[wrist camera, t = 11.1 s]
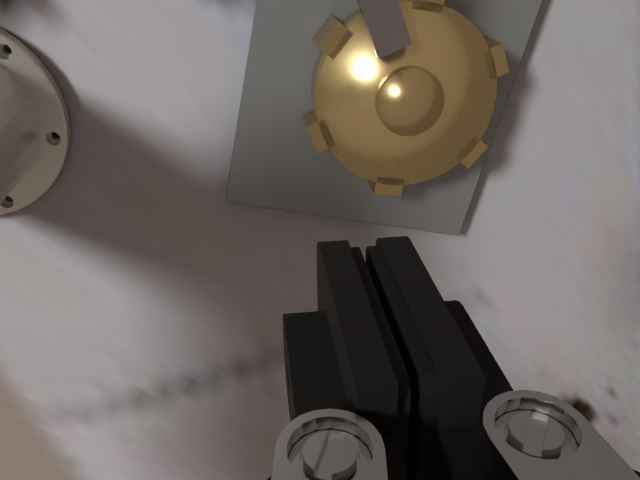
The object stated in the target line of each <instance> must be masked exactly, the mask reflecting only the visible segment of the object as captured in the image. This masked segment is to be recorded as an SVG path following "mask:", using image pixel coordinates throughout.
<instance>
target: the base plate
mask: <svg viewBox="0 0 640 480" xmlns="http://www.w3.org/2000/svg"><path fill="white" fill-rule="evenodd" d="M541 2H542V0H445V2H444V6H446V7H449V8H451V9H453V10H455V11H457V12H458V13H460V14H462V15H463V16H464V17H466V18H467V19H468V20H469V21H471V22H472V23H473V24H474V25H475V27H476V28H477V29H478V30H479V31H480V32H481V34H482V35H483V37H486V36H487V37H489V38H492V39H494V40H496V41H498V42H501V43H503V47H504V51H505V55H506V60H507V64H508V69H509V73H507V74H504V75H502V76H499V77H497V95H496V101H495V106H494V110H493V113H492V116H491V119H490V122H489V124H488V126H487V128H486V130H485V132H484V134H483V135H482V137H481V139H480V140H481V141H482V142H483V143H485V144H486V145H487V146H488V148H487V149H486V150H485V151H484V152H483V153H482V154H481V155H480V156H479V157H478V159H477V160H476V161H475V162H474V163H473V164H472V165H471V166H470V167H469V169H468V168H467V167H466V166H465V165H464V164H462V163H461V162H459V163H458V164H457V165H455V166H454V167H453V168H451V169H450V170H448V171H446V172H445V173H443V174H441V175H439V176H437V177H435V178H433V179H430V180H427V181H424V182H420V183H416V184H410V185H403V189H402V193H401V196H391V195H380V194H374V193H373V191H372V189H371V187H370V185H369V183H368V182H367V180H366V179H364V178H362V177H360V176H358V175H356V174H355V173H353V172H352V171H350V170H349V169H347V168H346V167H345V166H344V165H343V164H341V163H340V161H339V160H338V159H337V158H336V157H335V156H334V155H333V153H332V152H331V150H330V149H326V150H324V151H322V152H319V153H317V151H316V149H315V147H314V144H313V142H312V140H311V137H310V135H309V132H308V130H307V128H306V125H305V122H304V119H303V116H302V115H303V114H305V113H308V112H310V111H313V105H312V95H311V87H312V77H313V72H314V67H315V64H316V61H317V58H318V55H319V53H320V51H321V49H319V48H318V47H317V46H316V44H315V43H314V41H313V40H312V39H313V38H314V36H315V35H316V34H317V32H318V31H319V29H320V28H321V27H322V25H323V24H324V23H325V21H326V20H327V19H328V17H329V16H330V15H333V16H334V17H335V18H336V19H337V20H339V21H340V22H342V21H343V20H344V19H345V18H347V17H348V16H349V15H350V14H352V13H353V12H355V11H356V10H358V9H359V7H358V4H357V1H356V0H257V3H256V9H255V15H254V22H253V28H252V34H251V41H250V47H249V53H248V60H247V66H246V72H245V79H244V85H243V91H242V98H241V104H240V110H239V117H238V123H237V129H236V136H235V142H234V148H233V155H232V161H231V167H230V173H229V180H228V186H227V192H226V202H233V203H239V204H246V205H253V206H260V207H267V208H274V209H280V210H287V211H294V212H301V213H308V214H314V215H321V216H328V217H335V218H342V219H348V220H355V221H362V222H369V223H376V224H383V225H389V226H396V227H403V228H410V229H417V230H423V231H430V232H437V233H444V234H451V235H457V236H459V233H460V230H461V227H462V224H463V222H464V219H465V216H466V213H467V210H468V208H469V205H470V202H471V199H472V196H473V194H474V191H475V188H476V185H477V182H478V179H479V177H480V174H481V171H482V168H483V165H484V163H485V160H486V157H487V154H488V151H489V148H490V146H491V143H492V140H493V137H494V134H495V132H496V129H497V126H498V123H499V120H500V118H501V115H502V112H503V109H504V106H505V103H506V101H507V98H508V95H509V92H510V89H511V87H512V84H513V81H514V78H515V75H516V73H517V70H518V67H519V64H520V61H521V58H522V56H523V53H524V50H525V47H526V44H527V42H528V39H529V36H530V33H531V30H532V28H533V25H534V22H535V19H536V16H537V13H538V11H539V8H540V5H541Z"/></svg>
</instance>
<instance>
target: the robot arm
mask: <svg viewBox="0 0 640 480" xmlns="http://www.w3.org/2000/svg"><path fill="white" fill-rule="evenodd" d="M5 45H8V46H9V47H10V48H11V51H12V53H8V52H7V51H6V50H5ZM53 132H55V133H57V134H58V135H59V136H60V138H56V137H55V136H54V135H53ZM69 143H70V124H69V116H68V111H67V108H66V105H65V102H64V99H63V96H62V93H61V91H60V90H59V88H58V86H57V84H56V82H55V80H54V78H53V77H52V75H51V74H50V72H49V71H48V70H47V68H46V67H45V66H44V65H43V63H42V62H41V61H40V59H39V58H38V57H37V56H36V55H35V54H34V53H33V52H31V51H30V50H29V49H28V48H27V47H26V46H25V45H24V44H23V43H22V42H21V41H19V40H18V39H16V38H15V37H13V36H12V35H10V34H9V33H7V32H6V31H4V30H3V29H2V28H0V215H4V214H7V213H10V212H14V211H17V210H19V209H21V208H23V207H25V206H27V205H29V204H31V203H33V202H34V201H35V200H36V199H38V198H39V197H40V196H41V195H42V194H44V193H45V192H46V191H47V190H48V189H49V187H50V186H51V185H52V184H53V182H54V181H55V180H56V178H57V176H58V175H59V173H60V171H61V170H62V168H63V166H64V164H65V160H66V157H67V154H68V151H69ZM8 196H9V197H11V198H12V199H9V198H8ZM317 287H318V311H317V312H304V313H292V314H283V335H284V355H285V370H286V382H287V393H288V403H289V412H290V422H289V423H288V424H287V425H286V426H285V428H284V429H283V430H282V431H281V433H280V434H279V436H278V439H277V443H276V446H275V451H274V459H273V468H272V475H271V476H270V477H269V478H268V479H267V480H640V473H639V472H637V471H635V470H633V469H632V468H631V467H630V466H629V465H628V464H627V463H626V462H625V461H624V460H623V459H622V458H621V457H620V455H619V454H618V453H617V452H616V451H615V450H614V449H613V448H612V447H611V446H610V445H609V444H608V442H607V441H606V440H605V439H604V438H603V437H602V436H601V435H600V434H599V433H598V432H597V431H596V429H595V428H594V427H593V426H592V425H591V424H590V423H589V422H588V421H587V420H586V419H585V418H584V416H583V415H581V414H580V413H579V412H578V411H577V410H576V409H574V408H573V407H572V406H571V405H569V404H567V403H566V402H564V401H562V400H560V399H558V398H556V397H554V396H551V395H548V394H545V393H541V392H537V391H528V390H516V391H513V389H512V387H511V386H510V384H509V382H508V381H507V379H506V377H505V376H504V374H503V372H502V370H501V369H500V367H499V365H498V364H497V362H496V360H495V359H494V357H493V355H492V354H491V352H490V350H489V349H488V347H487V345H486V344H485V342H484V340H483V339H482V337H481V335H480V334H479V332H478V330H477V329H476V327H475V325H474V324H473V322H472V320H471V319H470V317H469V315H468V313H467V312H466V310H465V308H464V307H463V305H462V304H461V303H460V302H459V301H456V300H454V301H444V300H443V298H442V297H441V295H440V293H439V291H438V289H437V288H436V286H435V284H434V282H433V280H432V279H431V277H430V275H429V273H428V271H427V270H426V268H425V266H424V264H423V262H422V260H421V259H420V257H419V255H418V253H417V251H416V250H415V248H414V246H413V244H412V242H411V241H410V239H409V237H408V236H402V237H387V238H378V239H377V241H376V246H367V249H366V263H365V260H364V258H363V255H362V253H361V250H360V248H359V247H352V248H350V246H349V243H348V241H347V240H343V241H328V242H318V244H317Z"/></svg>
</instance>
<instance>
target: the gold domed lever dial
mask: <svg viewBox="0 0 640 480" xmlns="http://www.w3.org/2000/svg"><path fill="white" fill-rule="evenodd" d="M356 1H357V4H358V7H359V9H358V10H356V11H355V12H353V13H352V14H350V15H349V16H348V17H347V18H345V19H344V20H343V21H342V22H340V21H339V20H337V19H336V18H335V17H334V16H333V15H330V16H329V17H328V19H327V20H326V21H325V23H324V24H323V25H322V27H321V28H320V29H319V31H318V32H317V34H316V35H315V36H314V38H313V39H312V40H313V41H314V43H315V44H316V46H317V47H318V48H319V49H321V51H320V53H319V55H318V58H317V61H316V64H315V67H314V72H313V77H312V87H311V95H312V105H313V111H310V112H308V113H305V114H303V115H302V116H303V119H304V122H305V125H306V128H307V130H308V132H309V135H310V137H311V140H312V142H313V144H314V147H315V149H316V151H317V153H319V152H322V151H324V150H326V149H330V150H331V152H332V153H333V155H334V156H335V157H336V158H337V159H338V160H339V161H340V163H341V164H343V165H344V166H345V167H346V168H347V169H349V170H350V171H352V172H353V173H355V174H356V175H358V176H360V177H362V178H364V179H366V180H367V182H368V183H369V185H370V187H371V189H372V191H373V193H374V194H380V195H391V196H401V193H402V189H403V185H410V184H416V183H420V182H424V181H427V180H430V179H433V178H435V177H437V176H439V175H441V174H443V173H445V172H446V171H448V170H450V169H451V168H453V167H454V166H455V165H457V164H458V163H459V162H461V163H462V164H464V165H465V166H466V167H467V168H468V169H469V167H470V166H471V165H472V164H473V163H474V162H475V161H476V160H477V159H478V157H479V156H480V155H481V154H482V153H483V152H484V151H485V150H486V149H487V148H488V146H487V145H486V144H485V143H483V142H482V141H481V140H480V139H481V137H482V135H483V134H484V132H485V130H486V128H487V126H488V124H489V122H490V119H491V116H492V113H493V110H494V106H495V101H496V95H497V77H499V76H502V75H504V74H507V73H509V69H508V64H507V60H506V55H505V51H504V47H503V43H501V42H498V41H496V40H494V39H492V38H489V37H487V36H486V37H483V35H482V34H481V32H480V31H479V30H478V29H477V28H476V27H475V25H474V24H473V23H472V22H471V21H469V20H468V19H467V18H466V17H464V16H463V15H462V14H460V13H458V12H457V11H455V10H453V9H451V8H449V7H446V6H444V2H445V0H356Z"/></svg>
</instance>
